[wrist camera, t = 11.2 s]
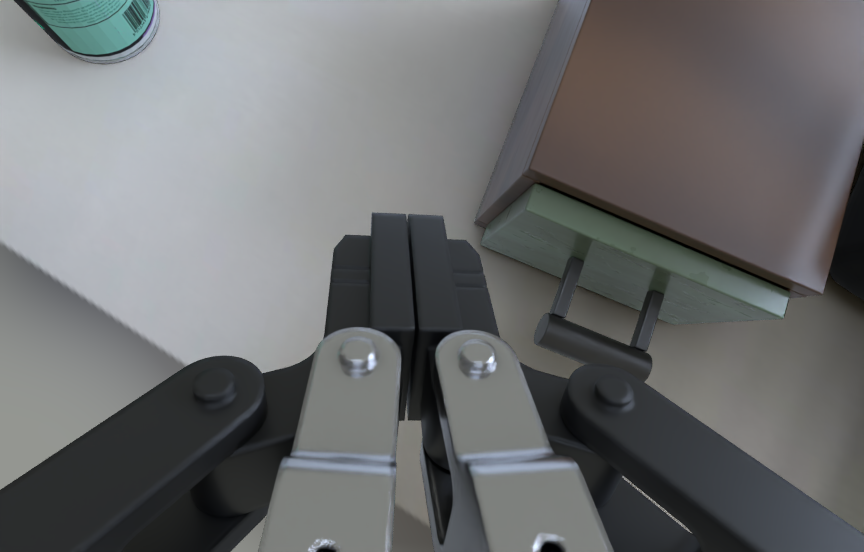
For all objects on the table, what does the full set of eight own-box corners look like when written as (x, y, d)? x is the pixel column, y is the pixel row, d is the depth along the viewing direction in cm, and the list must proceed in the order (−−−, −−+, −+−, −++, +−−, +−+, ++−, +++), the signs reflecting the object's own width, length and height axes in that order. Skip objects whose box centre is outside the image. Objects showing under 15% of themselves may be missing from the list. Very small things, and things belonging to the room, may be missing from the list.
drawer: (650, 400, 29) (756, 422, 21) (450, 320, 28) (486, 313, 20) (740, 107, 32) (863, 32, 24) (562, 25, 31) (631, -80, 23)
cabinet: (679, 309, 31) (823, 295, 21) (473, 223, 30) (528, 168, 20) (749, 84, 33) (907, -19, 24) (560, -4, 32) (646, -148, 23)
